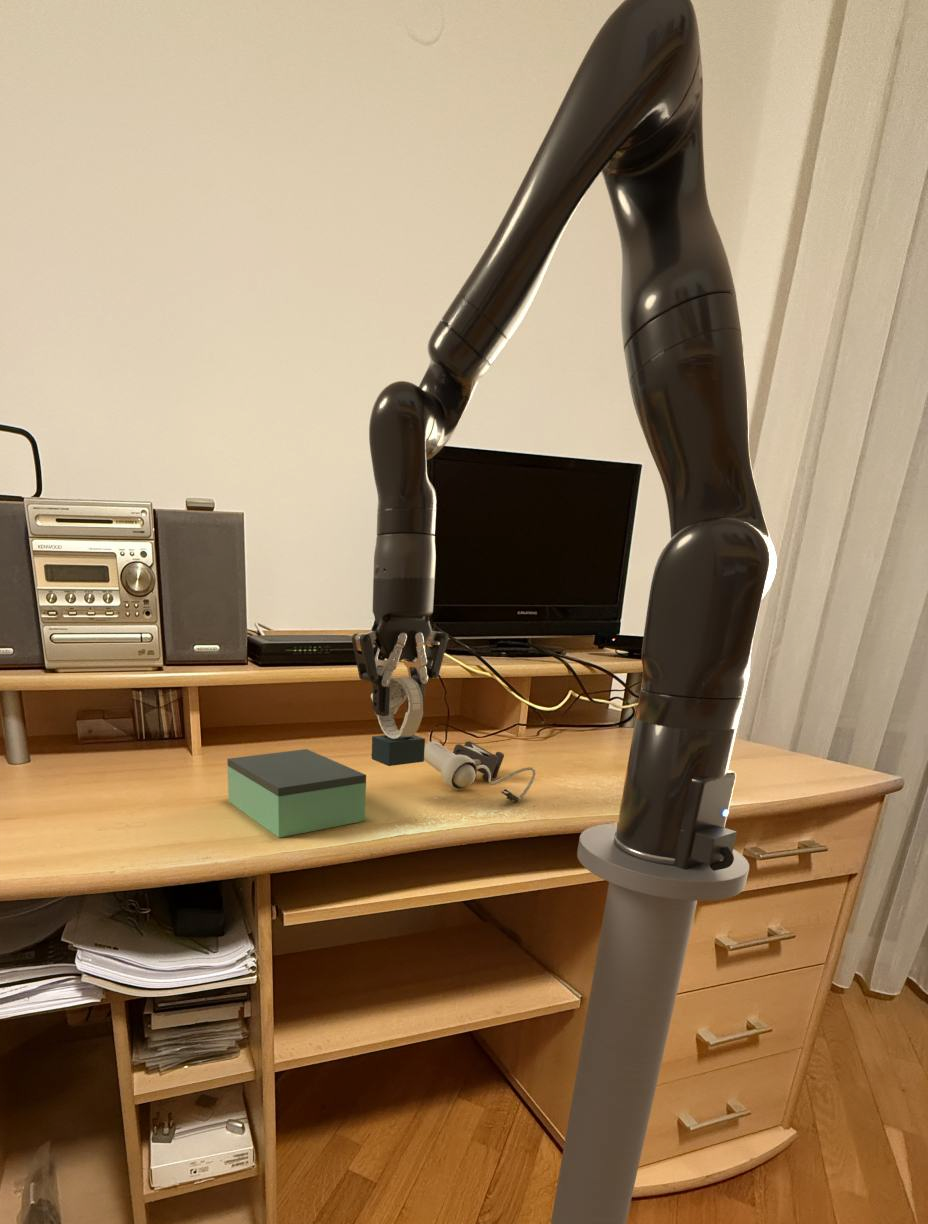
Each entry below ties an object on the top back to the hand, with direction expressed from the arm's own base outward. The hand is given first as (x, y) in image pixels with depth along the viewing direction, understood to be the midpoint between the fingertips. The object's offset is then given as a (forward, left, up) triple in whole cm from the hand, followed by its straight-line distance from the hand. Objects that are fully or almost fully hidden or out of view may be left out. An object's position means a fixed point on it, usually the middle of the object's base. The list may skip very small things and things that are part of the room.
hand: (398, 712), depth 83 cm
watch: (0, 0, -7) cm, 7 cm away
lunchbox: (+3, +14, -12) cm, 19 cm away
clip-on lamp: (-1, -15, -12) cm, 19 cm away
